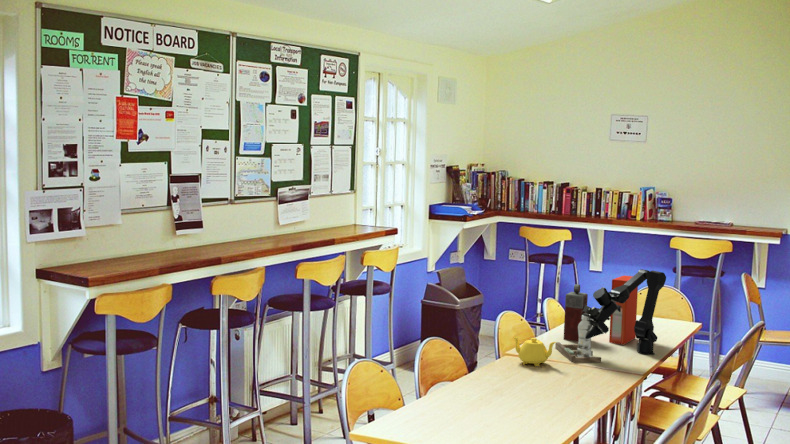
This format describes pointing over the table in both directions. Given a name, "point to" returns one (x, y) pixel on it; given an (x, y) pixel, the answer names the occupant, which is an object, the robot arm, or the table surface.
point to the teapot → (533, 351)
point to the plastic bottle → (584, 343)
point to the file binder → (623, 315)
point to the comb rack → (574, 353)
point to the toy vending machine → (574, 313)
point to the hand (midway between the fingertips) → (581, 335)
